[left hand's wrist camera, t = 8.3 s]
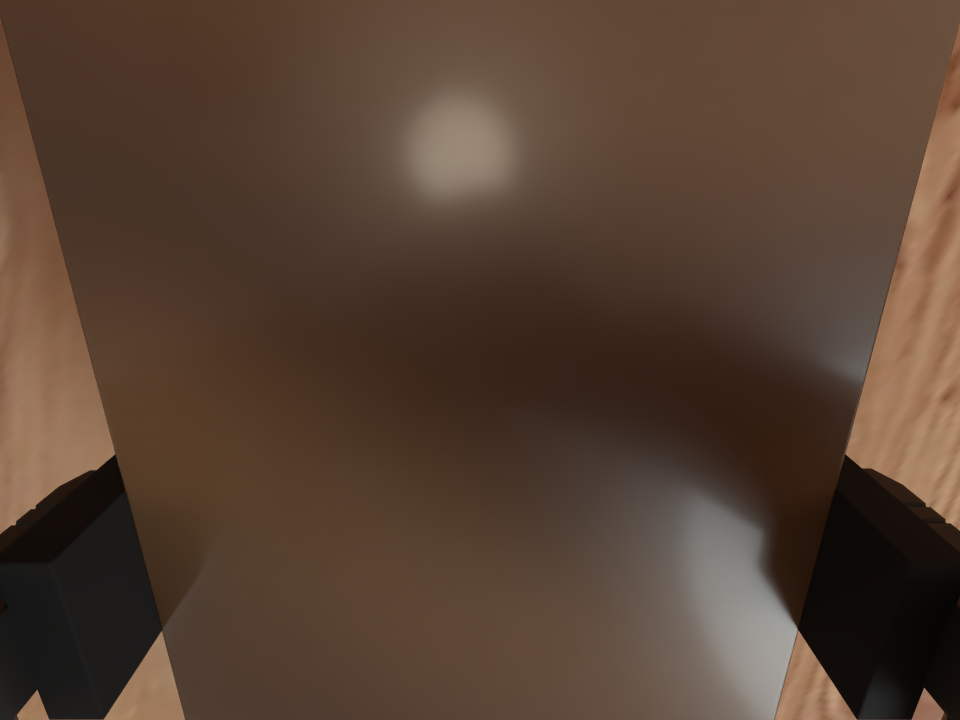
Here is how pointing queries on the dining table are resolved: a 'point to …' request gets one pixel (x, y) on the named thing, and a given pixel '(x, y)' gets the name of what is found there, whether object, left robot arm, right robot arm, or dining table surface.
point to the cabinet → (480, 330)
